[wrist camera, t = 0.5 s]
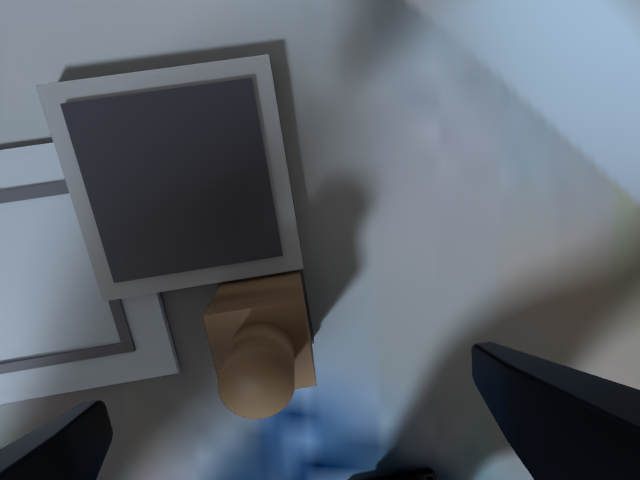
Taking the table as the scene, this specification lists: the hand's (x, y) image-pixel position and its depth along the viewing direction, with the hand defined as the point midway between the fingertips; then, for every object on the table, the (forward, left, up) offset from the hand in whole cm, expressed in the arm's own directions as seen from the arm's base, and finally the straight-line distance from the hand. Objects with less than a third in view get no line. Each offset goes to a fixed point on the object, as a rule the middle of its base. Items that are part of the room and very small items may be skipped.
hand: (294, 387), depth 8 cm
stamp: (-3, +2, -12) cm, 13 cm away
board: (+1, +15, -12) cm, 19 cm away
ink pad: (+5, +5, -12) cm, 14 cm away
